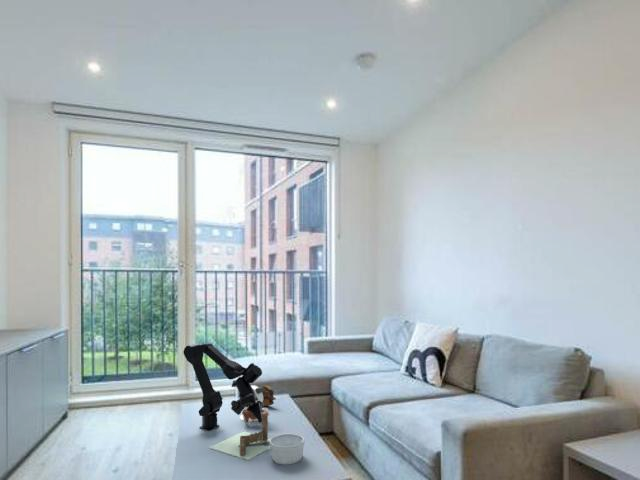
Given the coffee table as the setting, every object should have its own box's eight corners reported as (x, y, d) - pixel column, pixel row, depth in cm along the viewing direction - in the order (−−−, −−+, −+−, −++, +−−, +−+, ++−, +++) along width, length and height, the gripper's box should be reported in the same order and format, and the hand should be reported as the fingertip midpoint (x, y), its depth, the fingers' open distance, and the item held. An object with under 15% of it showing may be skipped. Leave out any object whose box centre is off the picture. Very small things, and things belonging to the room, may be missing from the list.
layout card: (209, 448, 168) (209, 447, 168) (243, 431, 185) (243, 431, 185) (248, 460, 157) (248, 459, 157) (281, 441, 173) (281, 440, 173)
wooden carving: (251, 403, 225) (251, 384, 226) (257, 401, 229) (257, 382, 229) (271, 409, 214) (271, 389, 215) (278, 407, 218) (278, 387, 219)
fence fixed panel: (240, 446, 170) (240, 435, 170) (245, 445, 170) (245, 435, 170) (240, 457, 160) (240, 446, 160) (245, 456, 160) (245, 445, 160)
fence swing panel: (247, 445, 169) (247, 418, 169) (244, 443, 171) (244, 416, 172) (269, 439, 174) (269, 413, 175) (266, 437, 176) (266, 411, 177)
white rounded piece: (269, 416, 205) (268, 385, 206) (253, 423, 195) (253, 390, 196) (250, 412, 211) (250, 381, 212) (234, 418, 202) (234, 387, 203)
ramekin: (272, 451, 165) (272, 433, 165) (305, 451, 164) (305, 432, 165) (267, 466, 152) (267, 447, 152) (303, 466, 151) (303, 446, 152)
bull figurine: (268, 428, 189) (268, 409, 190) (241, 426, 192) (241, 408, 192) (271, 424, 193) (271, 406, 194) (244, 422, 196) (244, 405, 197)
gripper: (235, 404, 189) (249, 436, 181) (222, 395, 174) (238, 429, 166) (256, 390, 192) (272, 421, 184) (246, 380, 176) (262, 413, 168)
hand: (261, 421), depth 175 cm, fingers closed
